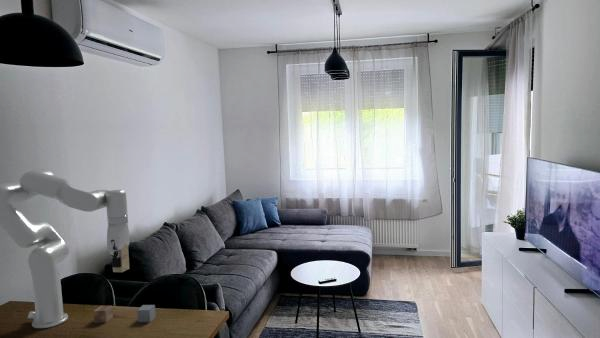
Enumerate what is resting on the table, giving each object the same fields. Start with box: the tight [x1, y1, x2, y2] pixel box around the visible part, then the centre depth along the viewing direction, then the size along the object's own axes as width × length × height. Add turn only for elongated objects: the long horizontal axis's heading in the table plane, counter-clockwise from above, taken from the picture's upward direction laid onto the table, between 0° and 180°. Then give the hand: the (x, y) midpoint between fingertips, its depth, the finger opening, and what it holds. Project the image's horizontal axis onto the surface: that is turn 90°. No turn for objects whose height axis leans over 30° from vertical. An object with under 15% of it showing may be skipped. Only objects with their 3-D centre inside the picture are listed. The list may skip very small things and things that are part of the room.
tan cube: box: [93, 305, 114, 324], centre depth 168 cm, size 5×5×5 cm
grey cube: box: [137, 304, 157, 323], centre depth 167 cm, size 5×5×5 cm
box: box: [112, 243, 130, 273], centre depth 168 cm, size 5×4×11 cm
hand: (120, 264), depth 168 cm, fingers closed on box, 5 cm apart
